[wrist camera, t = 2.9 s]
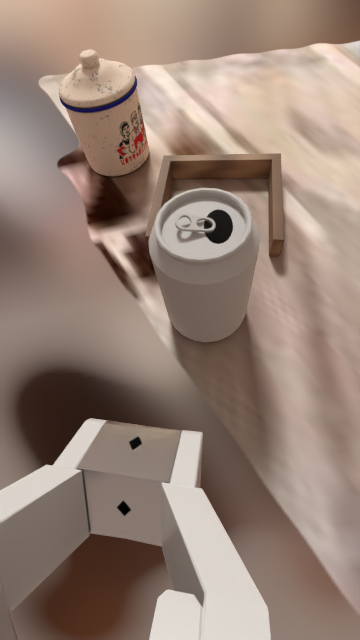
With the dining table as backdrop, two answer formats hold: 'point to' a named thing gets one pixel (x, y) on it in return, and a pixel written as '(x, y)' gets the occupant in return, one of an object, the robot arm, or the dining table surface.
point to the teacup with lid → (106, 114)
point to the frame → (223, 169)
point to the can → (205, 261)
